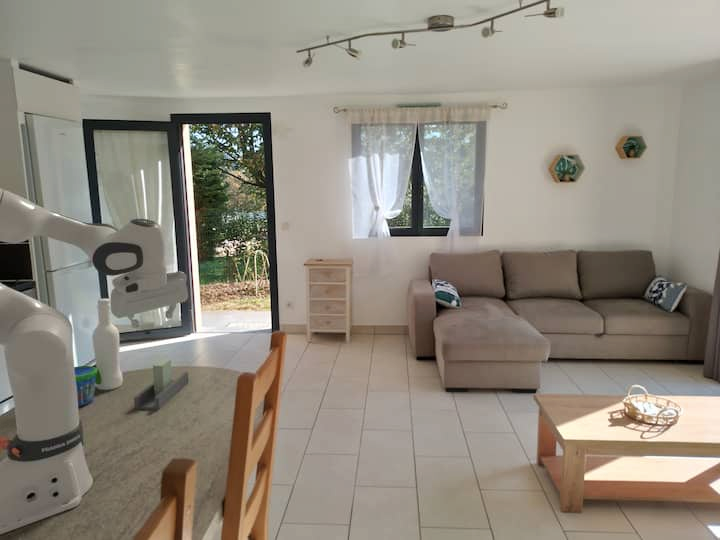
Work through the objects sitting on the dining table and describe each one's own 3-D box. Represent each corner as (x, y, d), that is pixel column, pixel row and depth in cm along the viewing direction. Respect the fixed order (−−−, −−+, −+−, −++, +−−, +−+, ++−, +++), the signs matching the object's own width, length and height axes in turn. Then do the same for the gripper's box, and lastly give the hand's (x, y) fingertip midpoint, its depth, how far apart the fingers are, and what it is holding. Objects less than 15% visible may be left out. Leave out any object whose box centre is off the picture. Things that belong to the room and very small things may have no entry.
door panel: (163, 396, 151) (162, 365, 150) (154, 395, 151) (152, 365, 150) (172, 388, 157) (170, 359, 156) (163, 388, 157) (161, 359, 156)
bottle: (98, 383, 164) (92, 297, 159) (124, 380, 166) (119, 296, 162) (93, 392, 156) (86, 302, 152) (120, 389, 158) (114, 300, 154)
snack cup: (90, 390, 157) (88, 361, 156) (113, 396, 153) (111, 365, 151) (43, 409, 143) (40, 376, 141) (67, 415, 139) (64, 382, 137)
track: (159, 409, 143) (158, 397, 143) (135, 409, 143) (134, 397, 143) (188, 382, 165) (188, 371, 164) (167, 381, 165) (167, 371, 165)
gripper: (181, 266, 139) (183, 308, 144) (105, 281, 125) (110, 327, 130) (191, 273, 135) (192, 316, 140) (114, 290, 121) (119, 337, 126)
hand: (152, 322), depth 135 cm, fingers open, 8 cm apart
